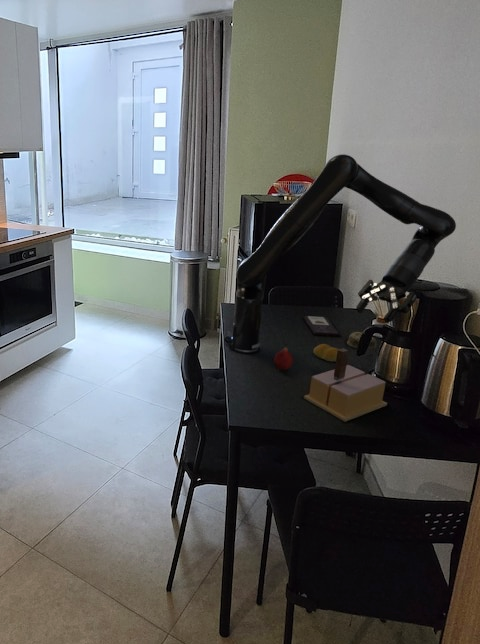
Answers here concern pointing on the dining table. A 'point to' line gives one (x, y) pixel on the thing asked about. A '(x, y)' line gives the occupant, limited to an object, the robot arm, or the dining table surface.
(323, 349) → the bread roll
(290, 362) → the onion
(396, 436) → the dining table surface
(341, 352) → the cake knife
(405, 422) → the dining table surface
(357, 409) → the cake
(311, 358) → the dining table surface
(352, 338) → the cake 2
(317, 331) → the chocolate bar
